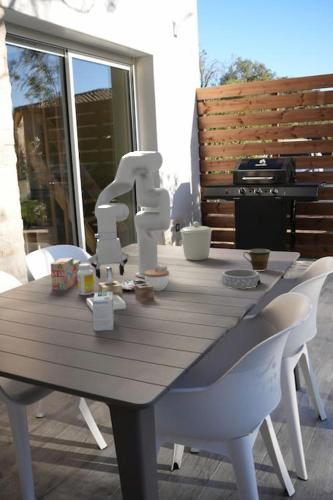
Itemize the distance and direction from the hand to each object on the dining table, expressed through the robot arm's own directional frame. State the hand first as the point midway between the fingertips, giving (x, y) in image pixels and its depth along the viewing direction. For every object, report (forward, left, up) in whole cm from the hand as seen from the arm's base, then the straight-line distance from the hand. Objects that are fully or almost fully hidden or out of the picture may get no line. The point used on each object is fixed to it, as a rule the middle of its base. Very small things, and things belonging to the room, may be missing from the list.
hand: (110, 276), depth 211 cm
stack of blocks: (+13, -32, -9) cm, 36 cm away
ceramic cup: (-78, -15, -9) cm, 80 cm away
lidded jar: (-22, -4, -9) cm, 24 cm away
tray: (+5, +12, -9) cm, 16 cm away
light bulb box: (+11, +34, -9) cm, 37 cm away
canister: (-64, -56, -9) cm, 85 cm away
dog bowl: (-58, +5, -10) cm, 59 cm away
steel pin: (0, 0, -8) cm, 8 cm away
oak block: (0, 0, -9) cm, 9 cm away
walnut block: (-12, +9, -9) cm, 17 cm away
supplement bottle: (+8, -11, -9) cm, 16 cm away
